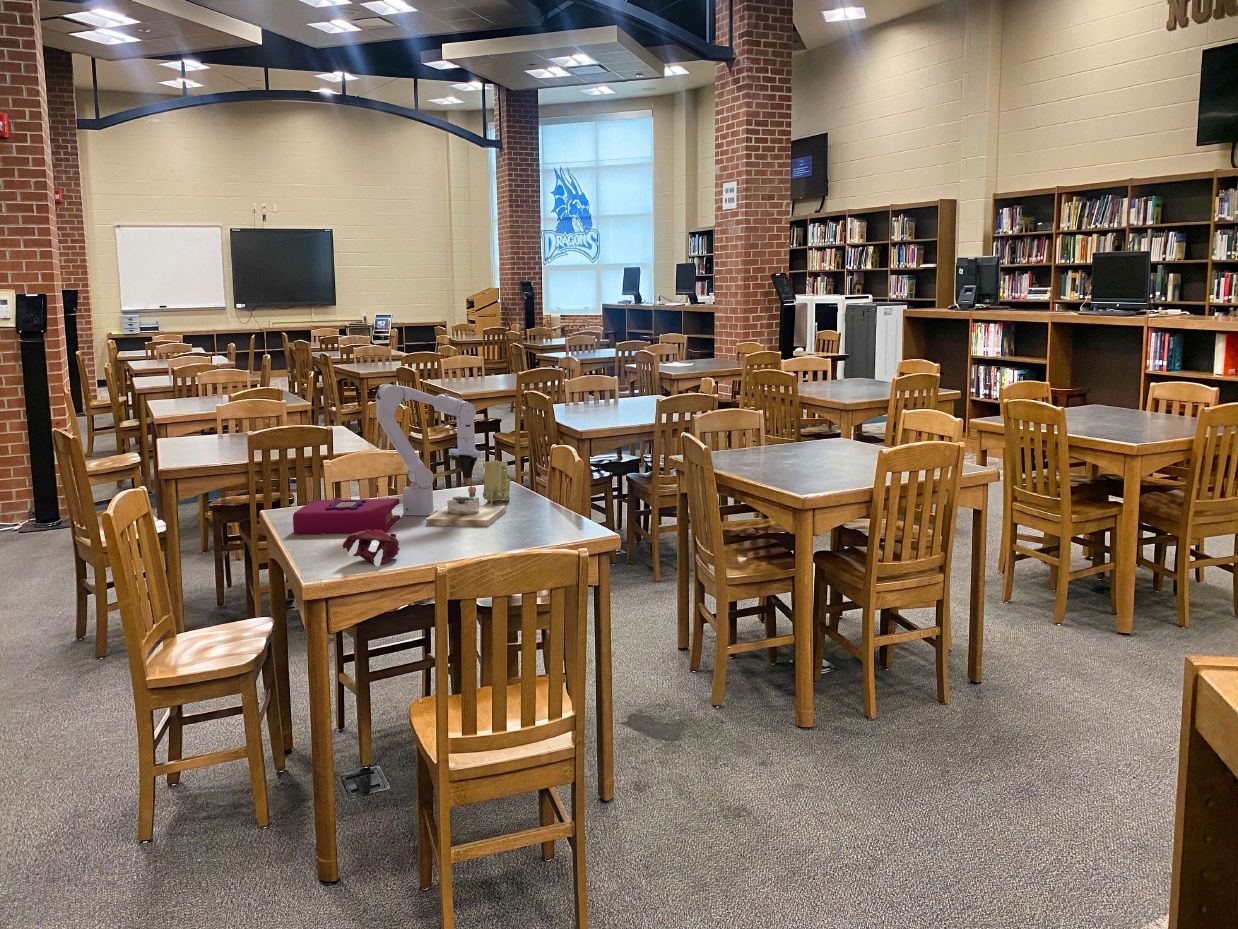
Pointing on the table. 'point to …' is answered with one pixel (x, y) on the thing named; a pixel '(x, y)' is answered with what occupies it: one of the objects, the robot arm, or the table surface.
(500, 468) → the mechanical component
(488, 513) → the base plate
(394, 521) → the book
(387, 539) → the dark red lumpy piece
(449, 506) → the grey boxy piece
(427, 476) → the robot arm
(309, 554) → the table surface
